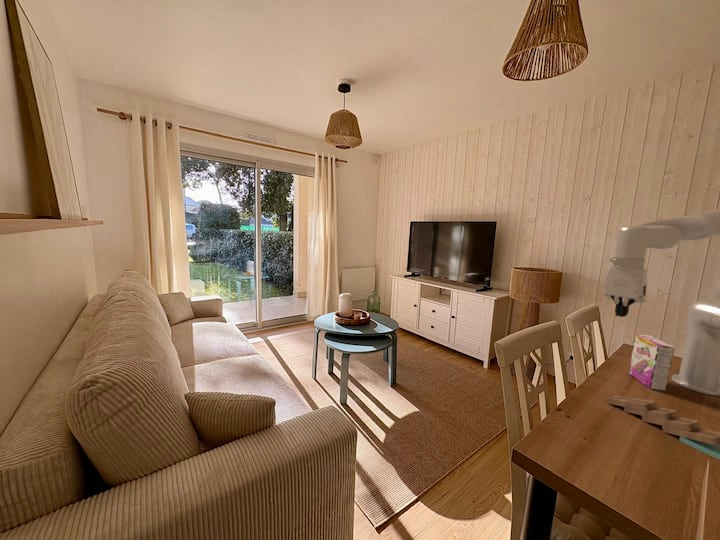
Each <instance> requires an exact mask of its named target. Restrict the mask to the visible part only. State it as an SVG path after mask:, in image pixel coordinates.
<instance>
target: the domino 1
mask: <svg viewBox="0 0 720 540" xmlns="http://www.w3.org/2000/svg"><path fill="white" fill-rule="evenodd" d="M606 402H607V404H609V405H614V406H620V407H623V406H624V407H629V408H635V409H640V410H646V411H648V410H651V409H654V408H656V407H658V405H657V402H656V401H655V400H647V399H642V398H635V397H628V396H622V395H617V394H615V395H612V396H610V397H606ZM624 407H623V408H624Z"/></svg>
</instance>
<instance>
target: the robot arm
mask: <svg viewBox="0 0 720 540" xmlns="http://www.w3.org/2000/svg"><path fill="white" fill-rule="evenodd" d="M718 236H720V208H717V209H714V210H710V211H705V212H702V213H701V212H700V213H696V214H690V215H686V216H685V215H684V216H683V215H682V216H679V217H678V216H677V217H674V218H668V219H661V220H654V221H650V222H649V221H648V222H645V223H642V224H637V225H634V226H633V225H632V226H629V225H628V226H627V225H626V226H621V227H620V228H619V229H618V231H617V237H616V245H615V246H616V247H615V253H614V256H613V257H611V258H609V262H610V263H612V265H609V269H608V271H607V272H606V273H607V274H606V277H605V280H604V284H603V292H604V296H605V297H607V298H610V299H611V300H612V301H613V302H614V304H615V308H614V309H615V310H614V313H615V316H616V317H620V318H624V317H627V316H628V314H629V311H630V310H629V309H630V306H632V305H633V304H635V303H636V304H638V303H639V304H641V303H643V304H644V303H645V301H646V300H645V297H646V295H647V292H648V291H647V290H648V273H647V269H646V268H645V262H646V257H647V249H654V250H657V249H658V250H666V249H667V250H668V249H672V248H674V247H676V246H677V245H679V244H680V243H681V241H699V240H705V239H710V238H715V237H718ZM712 292H713V295H714V296H715V297H717V298H718V299H720V279H718V281H717V282H716V283H715V284H714V286H713V289H712ZM687 319H688V321H687V322H688V328H687V329H688V331H687V335H686V341H685V345H684V348H683V349H684V350H683V353H682V359H681V364H680V368H679V372H678V373H679V374H678V373H677V374H673V375H672V376H671V380H672V381H673V382H674V383H675V384H677V385H679V386H681V387H684V388H686V389H688V390H691V391H694V392H697V393H701V394H704V395H711V396H719V397H720V301H719V300H713V299H701V300H700V299H699V300H696V301H694V302H692V304H690V306H689V307H688V309H687Z"/></svg>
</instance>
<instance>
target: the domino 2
mask: <svg viewBox="0 0 720 540" xmlns="http://www.w3.org/2000/svg"><path fill="white" fill-rule="evenodd" d="M622 407H623V409H624V413H630V414H634V415H639V416H641V415H643V416H648V417H653V418H658V419H663V420H668V421H669V420H671V419H673V418H676V417H679V415H678V412H677V410H676V409H675V410H674V409H671V408H666V407H665V408H664V407H663V408H662V407H658V406H657V407H656V408H654V409H651V410H648V411H646V410H640V409H635V408H629V407H624V406H622Z"/></svg>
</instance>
